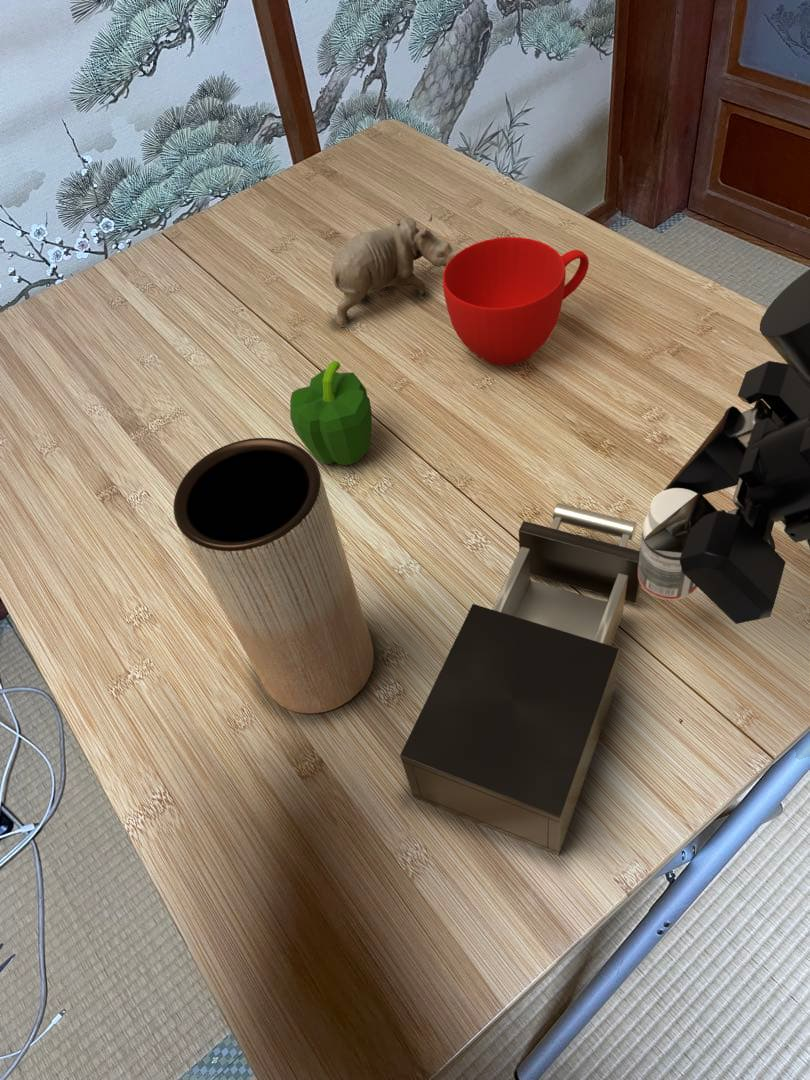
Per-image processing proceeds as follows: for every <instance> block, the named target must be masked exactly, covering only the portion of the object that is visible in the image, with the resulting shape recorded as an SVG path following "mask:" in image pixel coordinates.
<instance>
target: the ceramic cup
mask: <svg viewBox="0 0 810 1080" xmlns="http://www.w3.org/2000/svg"><path fill="white" fill-rule="evenodd" d="M459 251H460V252H459V253H457V254H456V255H455V256H454V257H453V258H452V259H451V260H450V261H449V263H448V264H447V265H446V267H445V266H444V267H445V268H444V270H443V273H442V289H443V296H444V301H445V304H446V308H447V312H448V317H449V319H450V321H451V325H452V327H453V330H454V332H455V333H456V335H457V336H458V338H459V340H460V341H461V342H462V343H463V345H464V346H465V347H466V348H467V349H469V350H470V352H472V353H473V354H475V355H476V356H478V357H479V358H481V359H482V360H483V361H485V362H486V363H488V364H492V365H495V366H503V367H505V366H513V365H517V364H520V363H523V362H525V361H527V360H528V359H529V358H530V357H531V356H532V355H534V353H536V352H537V351H539V350H540V349H541V348H542V346H543V345H544V344H545V343H546V342H547V341H548V339H550V337H551V335H552V333H553V332H554V329H555V328H556V326H557V324H558V321H559V318H560V314H561V310H562V306H563V301H564V300H565V299H566V298H567V297H568V298H569V296H570V295H571V294H572V293H573V292H574V291H576V290H577V288H578V287H579V286H580V285H581V283H582V282H583V281H584V279H585V277H586V275H587V272H588V270H589V266H590V260H589V258H588V256H587V254H586V253H585V252H584V251H583V250H580V249H572V250H569V251H567V252H565V253H564V254H562V255H561V254H560V253H559V252H558V251H557V250H556V249H555V248H554V247H552V246H550V245H549V244H547V243H544V242H541V241H540V240H536V239H533V238H528V237H527V238H526V237H519V236H518V237H516V236H506V237H496V238H490V239H485V240H481V241H479V242H476V243H473V244H471V245H469V246H467V247H464V248H463V249H462V250H459ZM577 259H579V264H578V267H577V269H576V271H575V273H574V275H573V276H572V277H571V279H570V280H569V281H568V282H567V283H566V274H567V273H566V268H567V266H568V265H569V264H570V263H572V262H573V261H575V260H577Z"/></svg>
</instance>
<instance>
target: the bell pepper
mask: <svg viewBox="0 0 810 1080" xmlns="http://www.w3.org/2000/svg"><path fill="white" fill-rule="evenodd" d="M340 368H341V363H340V362H339V361H338V360H332V362H329V364H328V365H327V367H326V368H325V369H324V370H322V371H320V372H319V373H318V374H316V375H314V376H313V377H312V378H311V379H310V382H309V386H305V387H301V388H297V389H295V390H293V391H292V392H291V395H290V400H289V404H290V405H289V408H290V409H289V411H290V412H289V415H290V421H291V424H292V427H293V429H294V432H295V434H296V435H297V437H298V438H299V439H300V441H301V442H302V443H303V445H304V446H305V447H306V449H308V451H309V452H310V453H311V454H312V456H313V457H314V458H315V459H316V460H317V461H319V462H321V463H322V464H323V463H324V464H326V465H331V464H333V463H335V462H336V464H338V465H341V466H342V465H344V466H352V465H353V464H354V463H356V462H359V461H360V460H362V458H364V456H365V454H366V453H367V452H368V450H369V449H370V447H371V444H372V443H371V442H372V435H373V434H372V433H373V432H372V431H373V430H372V429H373V411H372V405H371V401H370V397H369V396H368V391H367V389H366V387H365V386H364V385H363V383H362V382H361V380H360V379H359V377H358V376H357V375H356V374H355V372H352V371H351V372H338V371H339V369H340Z"/></svg>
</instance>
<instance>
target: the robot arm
mask: <svg viewBox="0 0 810 1080" xmlns="http://www.w3.org/2000/svg"><path fill="white" fill-rule="evenodd" d="M759 332H760V333H761V335H762V336H763V337H764V338H765V340H766V341H767V342H768V343H769V344H770V346H772V348H773V350H775V351H776V352H777V354H779V355H780V358H782V359H783V360H784V361H785V362H786V363H784V362H778V361H772V360H768V361H766V362H764V363H761V364H759V365H758V366H756V367H753V368H751V369H749V370H746V372H745V374H744V377H743V379H742V381H741V382H742V383H741V385H740V387H739V391H738V393H737V396H738V398H739V399H740V400H741V401H742V402H743V403H746V404H748V405H752V404H754V406H753V407H752V408H750V409H747V410H745V411H742V412H741V410H740V409H739V408H738V407H736V406H735V405H733V406H730V407H728V408H727V409H726V410H725V412H724V414H723V416H722V418H721V419H720V420H719V422H718V423H717V424H716V425H715V427H714V428H713V429H712V431H711V432H710V433H709V434H708V435H707V437H706V438H705V439H704V441H702V443H701V444H700V446H699V447H698V448H697V449H696V451H695V452H694V453H693V454H692V455H691V457H690V458H689V459H688V460H687V462H686V463H685V464H684V465H683V466H682V468H681V469H680V470H678V472H677V473H676V474H675V476H674V477H673V478H672V479H671V481H670V482H669V483H668V484H667V485H666V486H665V488H664V489H663V491H664V490H667V489H672V488H683V489H688V490H691V491H693V492H695V493H697V495H695V496H694V497H693V498H692V499H690V500H689V501H688V502H687V503H685V504H684V505H683V506H682V507H681V508H679V509H678V510H677V511H676V512H674V513H673V514H672V515H671V516H669V517H668V518H667V519H666V520H664V521H663V522H662V523H661V524H659V525H658V526H657V527H656V528H655V529H654V530H652V531H651V532H650V533H649V534H648V535H647V536H646V537H645V540H644V541H645V543H646V544H647V545H648V546H649V547H650V548H652V549H653V550H659V551H668V552H677V553H682V554H681V557H680V559H679V560H680V564H681V568H682V571H683V573H684V574H685V575H686V576H687V577H688V578H689V579H690V580H691V581H692V582H693V583H694V584H695V585H696V586H697V589H698V590H700V591H701V592H702V593H703V594H704V595H705V596H706V597H707V598H708V599H709V600H710V601H711V602H712V603H714V605H715V606H716V607H717V608H719V610H721V612H722V613H724V614H725V615H726V616H727V617H728V619H730V620H731V621H732V622H733V623H734V624H735V625H738V624H744V623H749V622H753V621H758V620H763V619H767V618H771V615H772V613H773V610H774V607H775V604H776V600H777V596H778V592H779V590H780V585H781V581H782V578H783V574H784V571H785V566H786V563H787V562H786V561H785V559H783V557H782V556H781V555H780V554H779V553H778V552H777V551H776V542H775V540H774V537H773V534H772V531H773V528H774V525H775V523H779V522H781V523H782V524H783V525H784V529H783V532H784V533H785V534H786V535H787V536H788V537H789V539H791V540H792V542H794V543H795V544H796V543H800V542H805V541H807V544H808V548H810V269H808V270H807V271H805V272H803V274H801V275H800V276H798V277H797V278H796V279H794V280H793V281H792V282H791V283H790V284H789V285H788V286H786V287H785V288H784V289H783V290H782V291H781V292H780V293H779V294H778V295H777V296H776V297H775V298H774V299H773V301H772V302H771V303H770V305H769V306H768V307H767V309H766V310H765V312H764V313H763V315H762V317H761V319H760V322H759ZM732 487H735V490H734V494H733V496H732V503H733V505H734V506H735V507H736V508H734V509H731V510H728V511H726V510H725V509H721V510H718V509H717V508H716V507H715V506H714V505H713V504H712V503H711V502H710V501H709V500H708V499H707V498H706V497H705V496H704V495H708V494H711V493H715V492H718V491H721V490H725V489H729V488H732Z"/></svg>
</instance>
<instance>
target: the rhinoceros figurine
mask: <svg viewBox="0 0 810 1080" xmlns="http://www.w3.org/2000/svg"><path fill="white" fill-rule="evenodd" d="M432 221H433V214H430V215H429V216H428V219H427V222H428V223H431V222H432ZM394 222H395V223H392V224H391V225H390V226H387V227H383V228H379V229H376V230H375V229H374V230H370V231H365V232H362V233H359V234H356V235H354V236H353V237H352V238H350V239H348V240H347V241H346V242H344V243H343V244H341V246H340V247H339V248H338V250H337V251H336V252H335V254H334V256H333V260H332V264H331V270H330V273H331V277H332V282H333V286H334V287H335V288H336V289H338V290H339V291H340V292H341V293H343V295H344V297H343V298H342V300H341V301H340V302H339V303H338V304H337V308H336V315H335V320H336V324H337V325H339V326H340V328H344V327H347V326H349V325H350V324H351V323H352V320H351V319H350V316H349V315H348V314H347V313H348V312H349V310H350V309H352V308H353V307H354V306H356V305H358V304H359V303H363V302H366V301H367V297H368V296H369V295H368V294H369V293H372V292H375V291H379V290H382V289H384V288H387V287H403V288H409V287H413V288H416V290H418V296H419V297H418V298H419V299H420V300H424V299H425V297H427V296H428V292H426V284H425V283H424V281H423V279H421V278H420V277H419V276H417V275H415V273H414V270H415V267H414V261H417V260H418V259H421V258H422V257H423V258H424V259H425V260H426V261H428V262H430V263H431V265H433V267H436V268H440V267H446V265H447V264H448V263H449V261H450V260H451V259H452V258H453V257H454V256H455V255H456V254H457V253H459V252H460V251H461V250H458V249H457V250H455V249H453V247H452V246H451V244H450V242H448V241H443V240H440V239H439V238H437V236H435V235H434V234H433V233H432V232H431V230H429V229H428V226H427V225H425V227H424V228H422V227H419V228H418V227H417V221H415V219H414V218H412V217H404V218H402V219H400V220H399V219H398V220H395V221H394Z"/></svg>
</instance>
